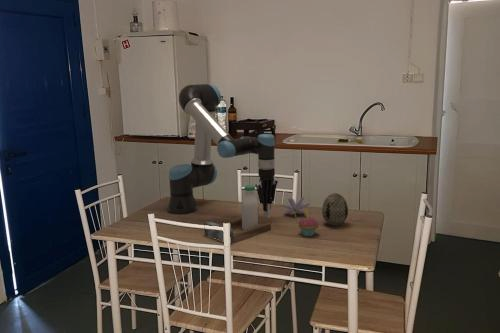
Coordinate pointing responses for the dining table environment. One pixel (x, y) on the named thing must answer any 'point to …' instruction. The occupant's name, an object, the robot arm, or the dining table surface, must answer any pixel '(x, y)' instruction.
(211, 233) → the guide channel
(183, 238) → the dining table surface
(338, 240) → the dining table surface
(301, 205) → the water lily
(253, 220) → the milk bottle
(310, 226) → the cupcake
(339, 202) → the decorative egg
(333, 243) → the dining table surface
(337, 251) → the dining table surface
